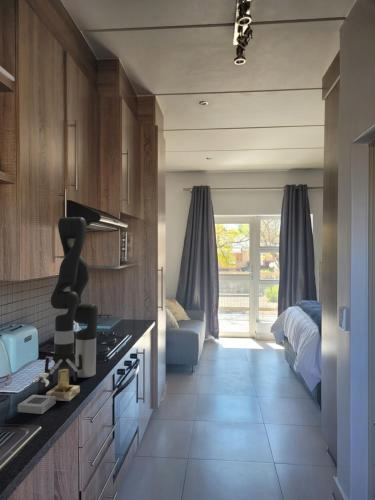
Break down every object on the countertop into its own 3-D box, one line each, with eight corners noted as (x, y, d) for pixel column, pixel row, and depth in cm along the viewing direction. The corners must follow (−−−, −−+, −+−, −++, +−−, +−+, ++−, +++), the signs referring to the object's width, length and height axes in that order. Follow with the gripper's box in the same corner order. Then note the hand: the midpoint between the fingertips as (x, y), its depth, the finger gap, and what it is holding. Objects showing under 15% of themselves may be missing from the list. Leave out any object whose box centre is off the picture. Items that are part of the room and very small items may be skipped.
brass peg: (61, 393, 147) (61, 368, 148) (70, 394, 147) (70, 369, 147) (56, 397, 144) (56, 371, 144) (65, 397, 143) (66, 372, 143)
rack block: (58, 390, 151) (58, 384, 151) (79, 391, 149) (79, 385, 149) (45, 399, 141) (46, 392, 141) (68, 401, 140) (68, 394, 140)
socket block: (32, 401, 139) (32, 394, 139) (55, 403, 138) (55, 396, 138) (17, 411, 130) (17, 404, 130) (42, 414, 129) (42, 406, 129)
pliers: (22, 384, 153) (34, 372, 168) (22, 388, 153) (34, 376, 168) (46, 384, 154) (56, 372, 169) (46, 387, 154) (55, 375, 169)
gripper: (45, 344, 139) (44, 387, 139) (83, 341, 144) (82, 382, 144) (45, 340, 146) (44, 380, 146) (81, 337, 151) (81, 376, 151)
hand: (63, 381), depth 145 cm, fingers open, 8 cm apart
